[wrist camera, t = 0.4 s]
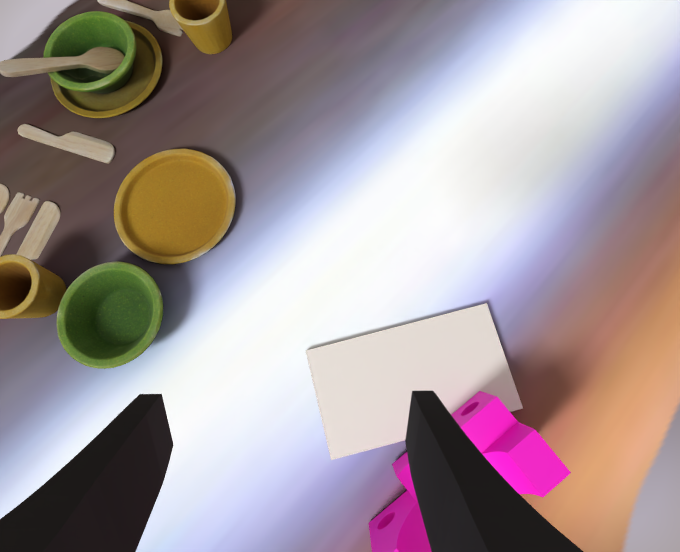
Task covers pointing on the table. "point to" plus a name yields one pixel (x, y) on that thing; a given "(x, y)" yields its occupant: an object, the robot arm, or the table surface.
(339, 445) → the mat
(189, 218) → the tableware set
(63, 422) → the table surface
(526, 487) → the toy block
